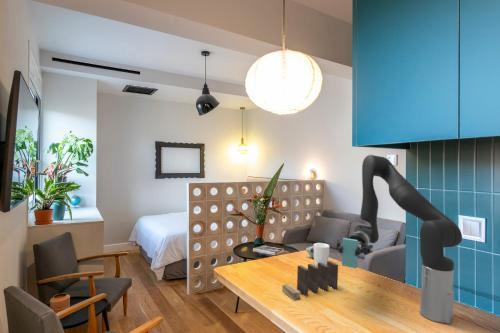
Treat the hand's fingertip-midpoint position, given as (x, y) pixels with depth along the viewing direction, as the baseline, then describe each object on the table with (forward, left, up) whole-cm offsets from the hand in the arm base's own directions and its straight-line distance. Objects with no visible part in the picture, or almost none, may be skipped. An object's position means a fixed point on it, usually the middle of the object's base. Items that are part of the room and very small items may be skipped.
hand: (348, 251), depth 107 cm
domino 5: (+1, -3, -6) cm, 7 cm away
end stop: (+19, +8, -20) cm, 29 cm away
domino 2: (+16, -2, -20) cm, 25 cm away
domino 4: (+12, -12, -20) cm, 26 cm away
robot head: (+38, -37, -20) cm, 56 cm away
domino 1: (+17, +3, -20) cm, 27 cm away
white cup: (+30, -32, -20) cm, 48 cm away
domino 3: (+14, -7, -20) cm, 25 cm away
